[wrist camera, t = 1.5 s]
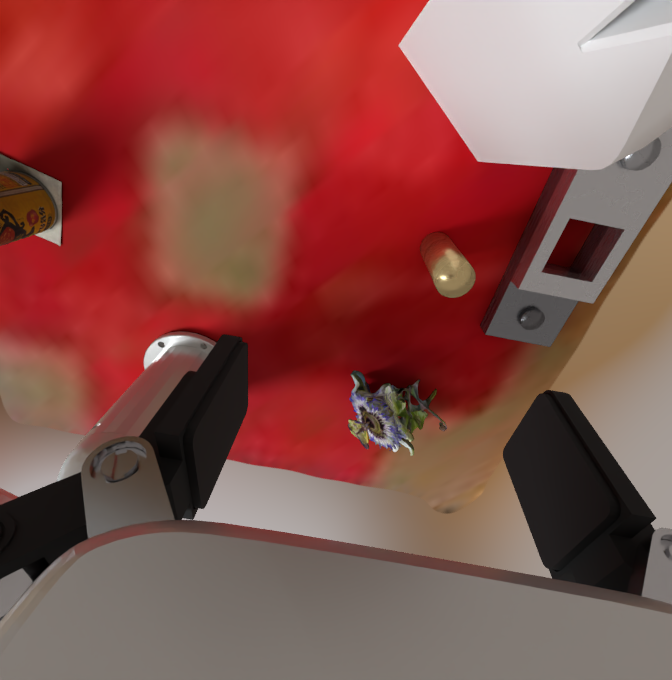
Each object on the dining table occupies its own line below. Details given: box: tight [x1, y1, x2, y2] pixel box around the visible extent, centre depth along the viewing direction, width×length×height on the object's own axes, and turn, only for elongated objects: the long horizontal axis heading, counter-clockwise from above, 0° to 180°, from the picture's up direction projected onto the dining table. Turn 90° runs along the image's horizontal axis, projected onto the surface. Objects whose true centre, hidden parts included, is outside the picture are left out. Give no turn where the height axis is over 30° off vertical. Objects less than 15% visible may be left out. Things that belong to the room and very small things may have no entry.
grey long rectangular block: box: [480, 127, 672, 347], centre depth 32 cm, size 22×8×5 cm, turn 170°
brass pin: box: [420, 232, 475, 298], centre depth 32 cm, size 3×3×9 cm
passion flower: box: [348, 370, 447, 456], centre depth 43 cm, size 11×11×12 cm
